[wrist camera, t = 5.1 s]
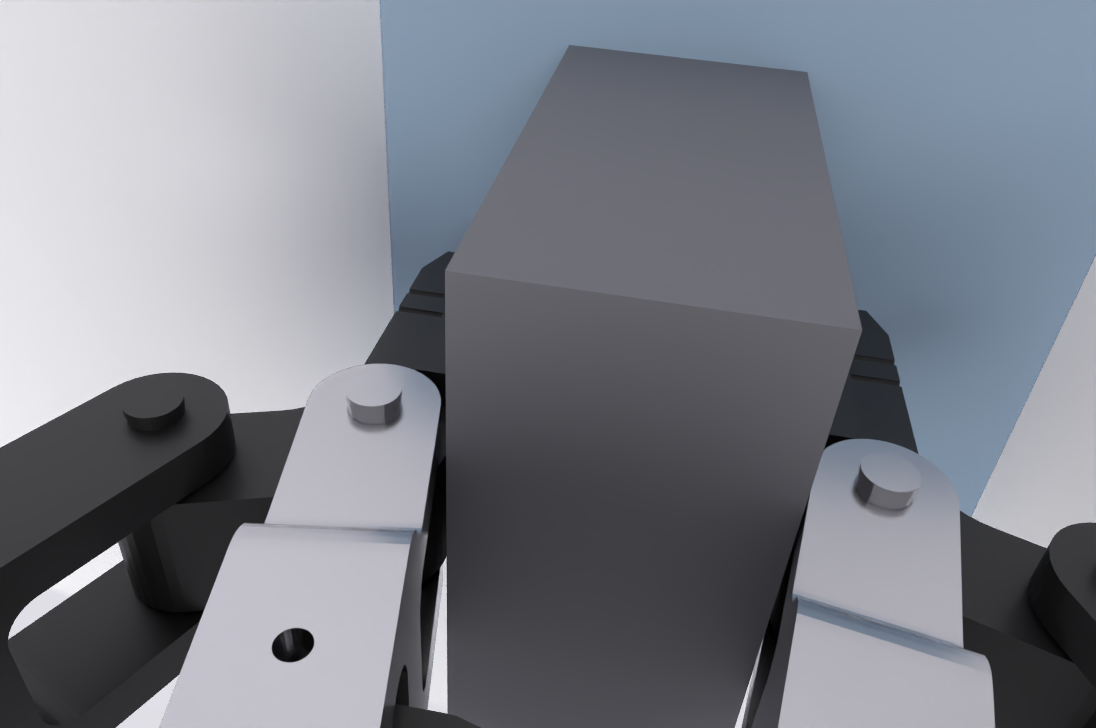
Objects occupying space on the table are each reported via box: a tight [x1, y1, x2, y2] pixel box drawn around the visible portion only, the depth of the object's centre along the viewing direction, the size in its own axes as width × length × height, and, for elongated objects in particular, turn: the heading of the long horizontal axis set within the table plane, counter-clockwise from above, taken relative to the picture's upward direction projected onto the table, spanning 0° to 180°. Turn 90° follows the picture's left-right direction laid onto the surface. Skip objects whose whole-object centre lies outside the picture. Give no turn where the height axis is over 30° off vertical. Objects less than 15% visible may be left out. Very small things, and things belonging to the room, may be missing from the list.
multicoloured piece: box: [380, 0, 1096, 728], centre depth 11 cm, size 10×12×8 cm
